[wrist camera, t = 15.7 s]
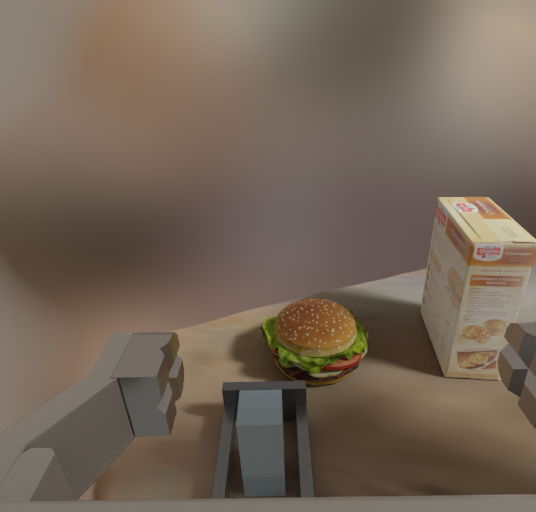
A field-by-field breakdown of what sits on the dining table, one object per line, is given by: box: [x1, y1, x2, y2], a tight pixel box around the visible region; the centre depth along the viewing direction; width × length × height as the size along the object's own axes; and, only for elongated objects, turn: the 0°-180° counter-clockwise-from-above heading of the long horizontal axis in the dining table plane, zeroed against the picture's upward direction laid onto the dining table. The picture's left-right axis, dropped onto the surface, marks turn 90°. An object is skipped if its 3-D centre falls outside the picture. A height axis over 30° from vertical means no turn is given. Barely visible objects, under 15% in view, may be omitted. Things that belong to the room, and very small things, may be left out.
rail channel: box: [211, 381, 314, 499], centre depth 41 cm, size 9×13×5 cm
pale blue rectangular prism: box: [236, 390, 286, 496], centre depth 39 cm, size 4×4×10 cm
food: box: [261, 299, 369, 386], centre depth 55 cm, size 14×14×8 cm
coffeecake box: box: [420, 197, 536, 380], centre depth 53 cm, size 15×7×20 cm, turn 173°
